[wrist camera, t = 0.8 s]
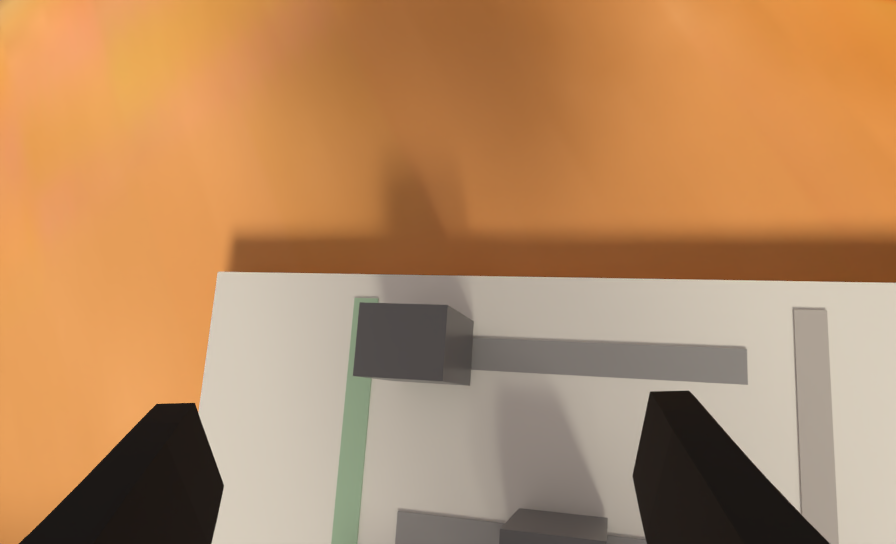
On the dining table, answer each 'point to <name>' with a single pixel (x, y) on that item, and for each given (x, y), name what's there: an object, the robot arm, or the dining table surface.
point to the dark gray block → (553, 528)
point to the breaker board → (540, 403)
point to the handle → (413, 343)
